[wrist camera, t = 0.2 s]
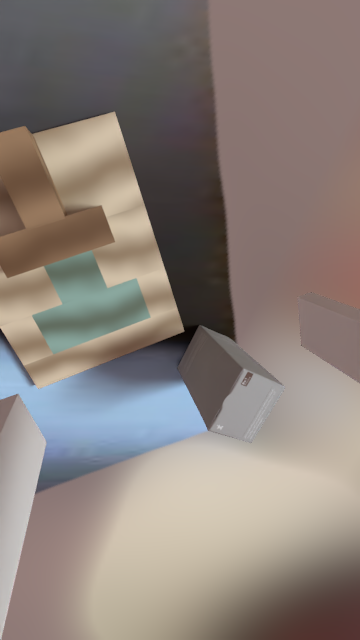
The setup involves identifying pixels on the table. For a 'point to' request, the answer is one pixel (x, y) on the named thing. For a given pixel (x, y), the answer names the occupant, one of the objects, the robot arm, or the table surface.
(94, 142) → the board
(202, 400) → the skincare box
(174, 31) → the table surface
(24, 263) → the t block
